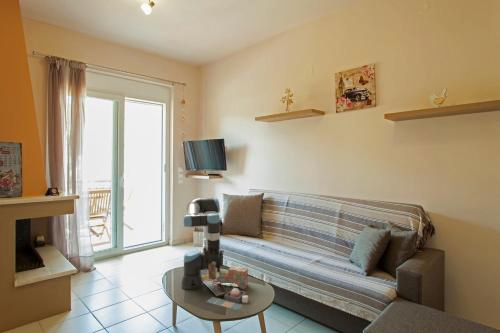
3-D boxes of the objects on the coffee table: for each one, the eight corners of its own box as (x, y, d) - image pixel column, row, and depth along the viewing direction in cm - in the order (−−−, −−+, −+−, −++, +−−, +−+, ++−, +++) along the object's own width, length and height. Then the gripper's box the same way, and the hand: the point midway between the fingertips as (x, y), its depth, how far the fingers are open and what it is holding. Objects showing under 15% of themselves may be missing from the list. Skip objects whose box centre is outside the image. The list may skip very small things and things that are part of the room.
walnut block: (208, 278, 179) (208, 263, 179) (212, 275, 183) (212, 261, 183) (214, 279, 177) (214, 265, 177) (218, 277, 181) (218, 262, 181)
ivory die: (242, 302, 179) (242, 297, 179) (243, 300, 183) (243, 294, 182) (247, 303, 179) (247, 297, 179) (248, 300, 182) (248, 295, 182)
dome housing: (224, 300, 183) (224, 295, 183) (232, 293, 192) (232, 288, 192) (238, 303, 178) (238, 298, 178) (245, 296, 187) (245, 291, 187)
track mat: (206, 302, 180) (206, 301, 180) (212, 297, 186) (212, 296, 186) (237, 310, 170) (237, 310, 170) (242, 305, 176) (242, 304, 176)
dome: (228, 298, 183) (228, 289, 183) (233, 293, 189) (233, 285, 189) (237, 300, 180) (237, 291, 180) (242, 295, 186) (242, 287, 186)
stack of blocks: (216, 285, 204) (216, 267, 204) (219, 281, 210) (219, 264, 210) (244, 289, 198) (245, 271, 197) (247, 285, 204) (247, 268, 203)
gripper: (198, 238, 180) (198, 275, 181) (222, 242, 172) (222, 281, 173) (205, 235, 187) (205, 271, 188) (229, 239, 179) (229, 276, 180)
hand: (213, 276), depth 180 cm, fingers closed on walnut block, 4 cm apart
